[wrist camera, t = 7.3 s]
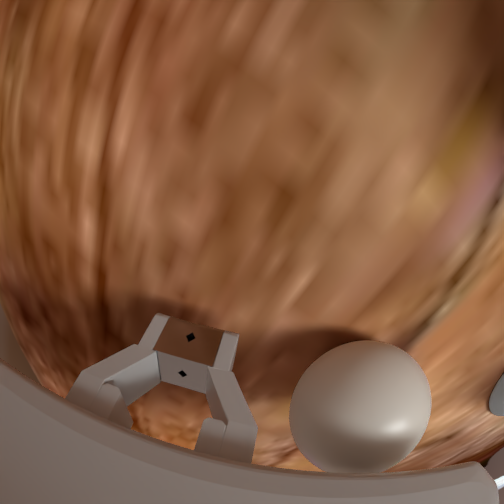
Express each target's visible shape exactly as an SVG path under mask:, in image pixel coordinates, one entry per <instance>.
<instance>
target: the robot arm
mask: <svg viewBox="0 0 504 504" xmlns="http://www.w3.org/2000/svg"><path fill="white" fill-rule="evenodd" d="M238 339H239V334H237V333H233V332H229V331H225V330H221V329H217V328H213V327H209V326H204V325H200V324H195V323H191V322H188V321H185V320H181V319H178V318H175V317H172V316H168V315H165V314H161V313H157V314H156V315H155V316H154V317H153V319H152V321H151V323H150V324H149V326H148V328H147V330H146V331H145V333H144V335H143V337H142V338H141V340H140V342H139V344H138V345H136V344H133V345H131V346H129V347H127V348H125V349H123V350H121V351H119V352H117V353H116V354H114V355H112V356H110V357H108V358H106V359H104V360H102V361H100V362H98V363H96V364H94V365H92V366H90V367H88V368H86V369H84V370H82V371H81V373H80V375H79V376H78V378H77V380H76V381H75V383H74V384H73V386H72V388H71V389H70V391H69V393H68V394H67V396H66V398H63V397H61V396H59V395H57V394H56V393H54V392H52V391H50V390H49V389H47V388H45V387H43V386H42V385H40V384H38V383H37V382H35V381H34V380H32V379H30V378H29V377H27V376H25V375H24V374H23V373H21V372H20V371H18V370H17V369H15V368H13V367H12V366H11V365H9V364H8V363H6V362H5V361H4V360H2V359H1V358H0V504H499V495H498V488H497V485H496V483H495V481H494V480H493V478H492V477H491V476H490V475H489V474H488V472H487V471H486V470H485V469H484V468H483V467H482V466H481V465H480V464H479V463H478V462H467V463H462V464H457V465H451V466H445V467H439V468H432V469H424V470H414V471H403V472H388V473H330V472H314V471H302V470H293V469H284V468H277V467H270V466H263V465H257V464H251V462H252V456H253V451H254V446H255V441H256V435H257V430H258V427H257V424H256V422H255V420H254V418H253V416H252V414H251V411H250V409H249V407H248V405H247V402H246V400H245V398H244V396H243V393H242V391H241V389H240V387H239V384H238V382H237V380H236V377H235V375H234V373H233V372H232V368H233V364H234V359H235V354H236V349H237V344H238ZM161 381H164V382H167V383H171V384H174V385H178V386H181V387H185V388H188V389H191V390H194V391H198V392H201V393H204V394H206V398H207V401H208V404H209V407H210V410H211V414H212V417H213V418H207V419H205V420H204V421H203V424H202V427H201V430H200V433H199V437H198V440H197V443H196V446H195V449H194V450H191V449H187V448H184V447H180V446H177V445H174V444H171V443H168V442H165V441H162V440H159V439H156V438H153V437H150V436H147V435H145V434H142V433H139V432H137V431H134V430H131V426H132V424H133V420H132V418H131V416H130V414H129V411H128V409H127V406H128V405H130V404H131V403H133V402H134V401H135V400H137V399H138V398H140V397H141V396H142V395H144V394H145V393H146V392H148V391H149V390H151V389H152V388H153V387H155V386H156V385H157V384H159V383H160V382H161Z"/></svg>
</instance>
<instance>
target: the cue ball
mask: <svg viewBox="0 0 504 504" xmlns="http://www.w3.org/2000/svg"><path fill="white" fill-rule="evenodd" d="M430 413H431V392H430V387H429V383H428V380H427V377H426V375H425V374H424V372H423V370H422V368H421V367H420V365H419V364H418V363H417V362H416V360H414V359H413V358H412V357H411V356H410V355H409V354H408V353H406V352H405V351H403V350H402V349H400V348H398V347H396V346H394V345H391V344H388V343H385V342H380V341H372V340H362V341H354V342H350V343H346V344H343V345H340V346H338V347H335V348H333V349H331V350H330V351H328V352H326V353H324V354H323V355H321V356H320V357H319V358H318V359H317V360H315V361H314V362H313V363H312V364H311V365H310V366H309V367H308V368H307V370H306V371H305V372H304V373H303V375H302V376H301V378H300V379H299V381H298V383H297V385H296V387H295V389H294V392H293V395H292V398H291V403H290V410H289V422H290V428H291V432H292V436H293V438H294V441H295V443H296V445H297V447H298V448H299V450H300V452H301V453H302V454H303V455H304V456H305V458H306V459H308V460H309V461H310V462H311V463H312V464H313V465H315V466H316V467H318V468H319V469H321V470H323V471H325V472H330V473H380V472H382V471H385V470H387V469H389V468H391V467H393V466H394V465H396V464H397V463H399V462H400V461H402V460H403V459H404V458H405V457H406V456H407V455H408V454H409V453H410V452H411V451H412V450H413V449H414V448H415V447H416V445H417V444H418V443H419V441H420V439H421V438H422V436H423V434H424V432H425V430H426V427H427V425H428V421H429V417H430Z"/></svg>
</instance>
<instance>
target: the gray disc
mask: <svg viewBox="0 0 504 504" xmlns="http://www.w3.org/2000/svg"><path fill="white" fill-rule="evenodd" d="M489 408H490V411H491V412H492V413H493V414H494V415H497V416H504V373H503V375H502V376H501V378H500V379H499V381H498V382H497V384H496V385H495V387H494V389H493V391H492V393H491V396H490V399H489Z"/></svg>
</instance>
